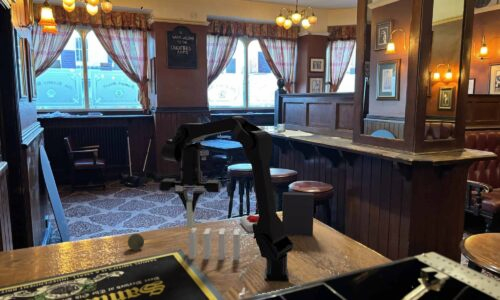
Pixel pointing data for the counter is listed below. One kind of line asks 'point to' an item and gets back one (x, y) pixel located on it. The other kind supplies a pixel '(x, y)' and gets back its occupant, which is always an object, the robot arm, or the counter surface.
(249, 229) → the red button box
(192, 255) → the domino
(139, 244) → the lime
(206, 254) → the domino
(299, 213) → the dark grey upright block
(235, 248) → the domino
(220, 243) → the domino
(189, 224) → the domino
